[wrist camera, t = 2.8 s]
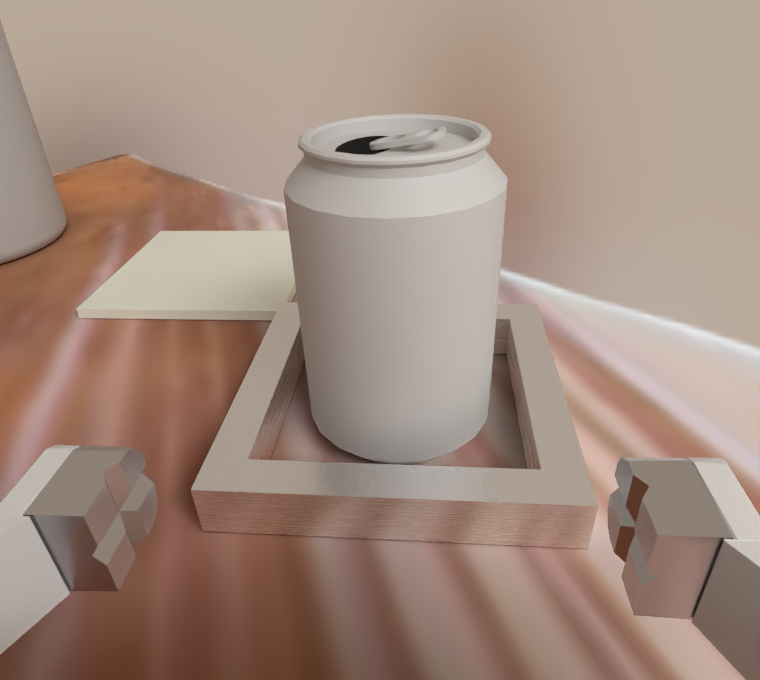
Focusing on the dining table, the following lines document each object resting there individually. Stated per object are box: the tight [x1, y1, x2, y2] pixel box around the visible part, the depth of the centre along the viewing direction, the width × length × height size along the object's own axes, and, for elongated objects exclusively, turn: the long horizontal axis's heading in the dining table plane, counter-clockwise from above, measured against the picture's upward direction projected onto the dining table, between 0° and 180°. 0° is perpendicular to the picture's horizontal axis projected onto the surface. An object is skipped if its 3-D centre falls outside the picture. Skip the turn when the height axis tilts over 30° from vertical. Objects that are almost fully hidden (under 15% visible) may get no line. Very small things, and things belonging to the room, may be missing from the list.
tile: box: [76, 231, 296, 320], centre depth 38 cm, size 12×12×1 cm
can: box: [284, 114, 508, 465], centre depth 22 cm, size 8×8×12 cm
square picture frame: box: [191, 302, 598, 549], centre depth 24 cm, size 13×13×2 cm
